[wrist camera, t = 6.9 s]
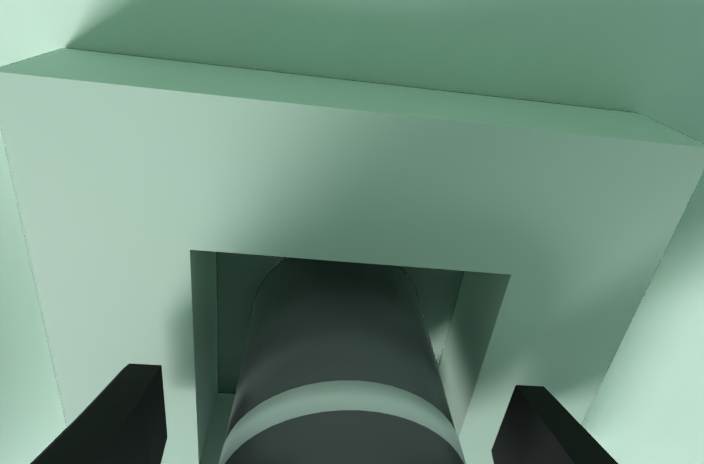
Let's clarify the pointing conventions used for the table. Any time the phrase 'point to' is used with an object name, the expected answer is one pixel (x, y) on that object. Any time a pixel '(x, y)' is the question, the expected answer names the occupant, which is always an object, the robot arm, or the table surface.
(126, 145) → the mount block
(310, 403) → the lens
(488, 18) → the table surface
